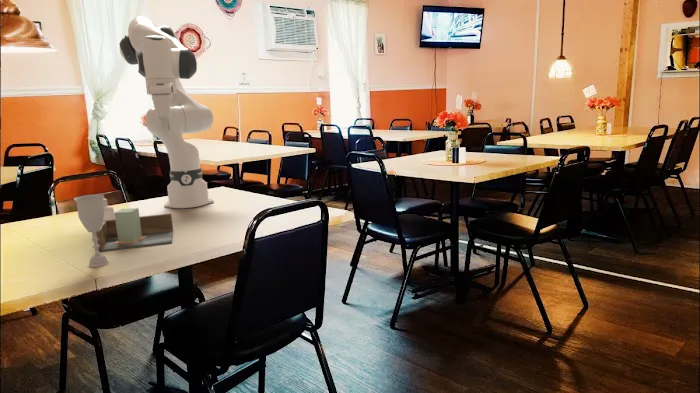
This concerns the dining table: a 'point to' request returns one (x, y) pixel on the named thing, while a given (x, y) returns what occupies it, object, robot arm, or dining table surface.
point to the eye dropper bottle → (108, 211)
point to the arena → (152, 229)
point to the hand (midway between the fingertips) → (166, 132)
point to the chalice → (92, 222)
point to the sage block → (128, 225)
